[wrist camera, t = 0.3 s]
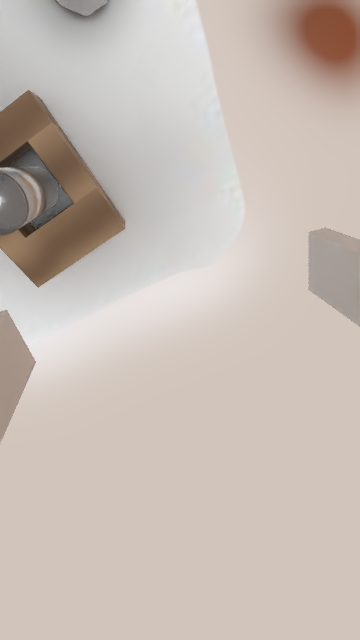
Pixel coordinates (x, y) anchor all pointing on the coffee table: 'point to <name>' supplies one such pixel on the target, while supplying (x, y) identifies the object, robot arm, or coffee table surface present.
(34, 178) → the shiny metal cylinder
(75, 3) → the bottle
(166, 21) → the coffee table surface
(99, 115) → the coffee table surface
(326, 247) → the robot arm
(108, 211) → the housing
